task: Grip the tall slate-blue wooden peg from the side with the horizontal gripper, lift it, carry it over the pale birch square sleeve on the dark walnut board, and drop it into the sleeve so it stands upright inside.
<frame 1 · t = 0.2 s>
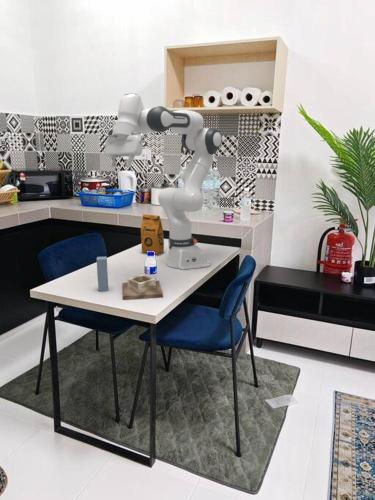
hand: (120, 166, 161), 51 cm above the table, tool tilted 15°, fingers open, 8 cm apart
coffee package: (153, 253, 223), on the table
slate peg: (103, 289, 167), on the table
socket board: (141, 291, 165), on the table
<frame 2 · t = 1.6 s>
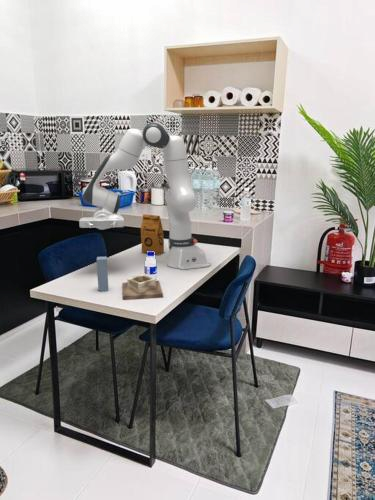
hand: (101, 225, 175), 25 cm above the table, tool horizontal, fingers open, 8 cm apart
nothing on the table moved.
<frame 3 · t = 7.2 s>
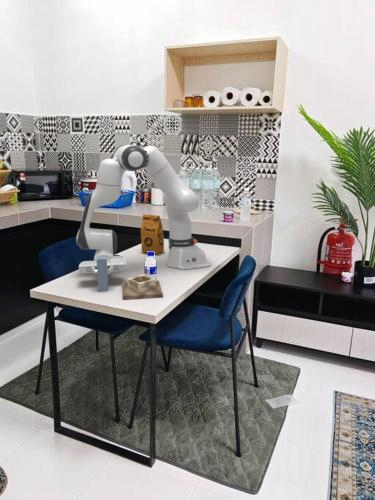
hand: (102, 272, 164), 8 cm above the table, tool horizontal, fingers closed on slate peg, 4 cm apart
slate peg: (103, 289, 167), on the table, touching gripper
everything else where it was.
when the fingers open (11 cm above the table, at t = 16.3 s): slate peg drops 1 cm, resting on socket board.
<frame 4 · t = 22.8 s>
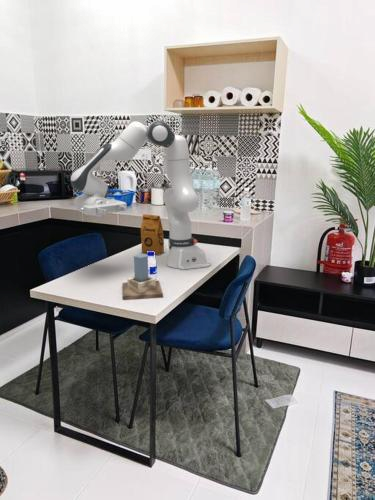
hand: (115, 210, 171), 32 cm above the table, tool horizontal, fingers open, 8 cm apart
slate peg: (141, 288, 165), point 1 cm above the table, touching socket board
everything else where it was.
at the end: slate peg 0.0 cm off-centre on the socket board, point 1.5 cm above the socket board's base; slate peg tilted 0°; the gripper is holding nothing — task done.
